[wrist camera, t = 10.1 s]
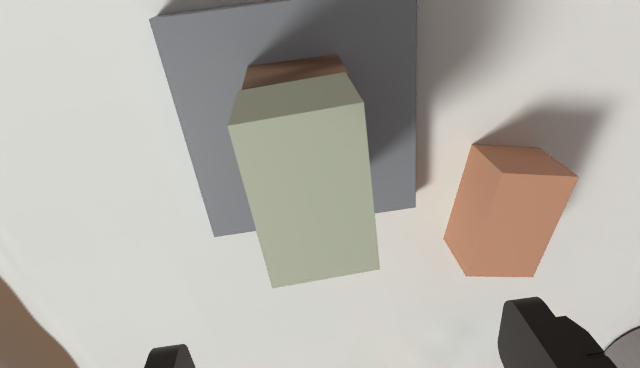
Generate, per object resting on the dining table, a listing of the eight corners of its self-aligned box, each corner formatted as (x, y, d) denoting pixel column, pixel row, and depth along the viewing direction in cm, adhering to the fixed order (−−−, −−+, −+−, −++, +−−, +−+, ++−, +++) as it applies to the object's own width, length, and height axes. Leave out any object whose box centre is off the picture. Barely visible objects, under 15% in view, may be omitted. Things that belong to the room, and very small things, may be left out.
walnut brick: (336, 53, 23) (349, 73, 19) (347, 179, 26) (360, 217, 23) (247, 66, 22) (241, 88, 18) (272, 189, 26) (271, 230, 22)
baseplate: (408, -18, 22) (416, -17, 21) (409, 196, 29) (415, 207, 28) (156, 15, 22) (148, 19, 21) (217, 224, 29) (214, 236, 28)
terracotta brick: (537, 147, 29) (578, 176, 25) (501, 238, 32) (532, 277, 28) (470, 143, 28) (502, 173, 24) (442, 237, 32) (466, 276, 28)
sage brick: (345, 72, 19) (363, 102, 15) (361, 215, 22) (379, 269, 19) (237, 90, 18) (227, 126, 15) (273, 231, 22) (272, 288, 18)
